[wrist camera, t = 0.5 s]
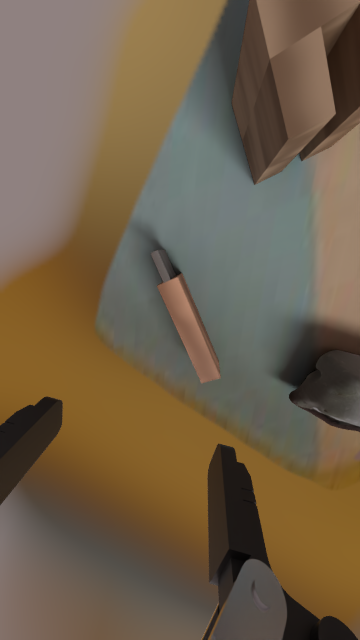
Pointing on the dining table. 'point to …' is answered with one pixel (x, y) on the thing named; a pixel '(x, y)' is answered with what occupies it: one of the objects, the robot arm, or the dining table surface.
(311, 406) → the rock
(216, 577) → the robot arm
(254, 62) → the slotted tan block
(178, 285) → the bed rail
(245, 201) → the dining table surface
